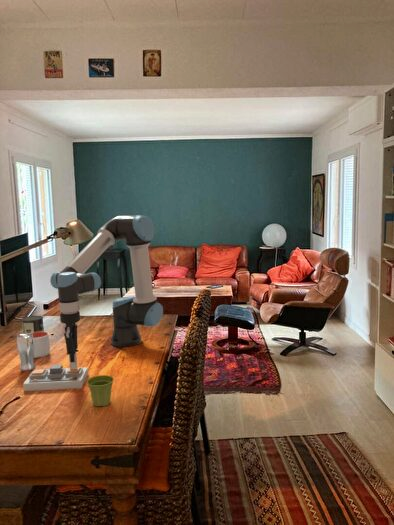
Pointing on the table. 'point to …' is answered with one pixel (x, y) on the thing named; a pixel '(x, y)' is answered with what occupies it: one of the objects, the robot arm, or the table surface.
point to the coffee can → (32, 324)
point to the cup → (41, 344)
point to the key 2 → (74, 370)
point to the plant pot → (100, 389)
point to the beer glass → (26, 351)
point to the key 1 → (38, 372)
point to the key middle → (56, 368)
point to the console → (56, 380)
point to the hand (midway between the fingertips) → (73, 368)
